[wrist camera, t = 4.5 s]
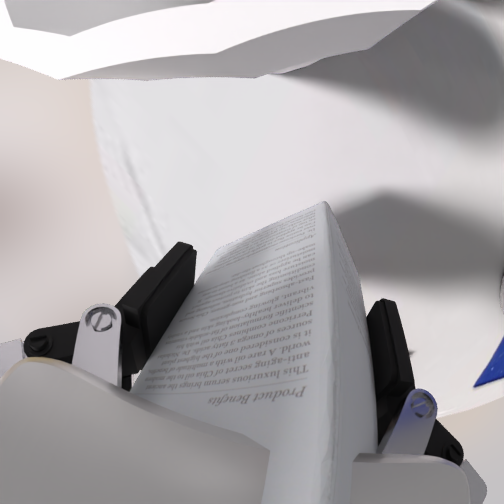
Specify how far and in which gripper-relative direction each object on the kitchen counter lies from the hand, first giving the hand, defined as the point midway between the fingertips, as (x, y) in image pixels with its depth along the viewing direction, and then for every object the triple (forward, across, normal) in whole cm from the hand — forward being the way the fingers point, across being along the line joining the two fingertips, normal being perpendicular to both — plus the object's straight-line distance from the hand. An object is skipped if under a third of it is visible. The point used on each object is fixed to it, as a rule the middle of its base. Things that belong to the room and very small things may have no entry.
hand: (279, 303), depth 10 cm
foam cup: (+7, +4, -12) cm, 14 cm away
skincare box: (+4, 0, 0) cm, 4 cm away
